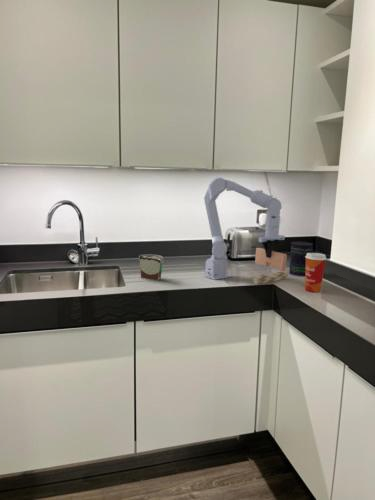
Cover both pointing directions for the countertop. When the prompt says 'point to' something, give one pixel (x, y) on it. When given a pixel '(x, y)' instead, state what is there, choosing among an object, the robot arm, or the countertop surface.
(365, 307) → the countertop surface
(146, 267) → the food container
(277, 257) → the terracotta slotted plate
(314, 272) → the coffee cup
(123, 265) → the countertop surface
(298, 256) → the storage jar
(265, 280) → the birch slotted plate
